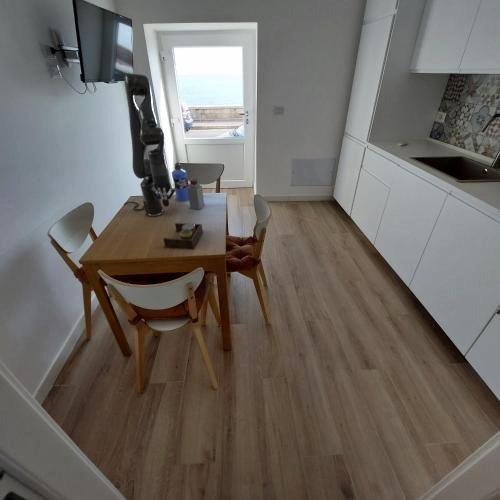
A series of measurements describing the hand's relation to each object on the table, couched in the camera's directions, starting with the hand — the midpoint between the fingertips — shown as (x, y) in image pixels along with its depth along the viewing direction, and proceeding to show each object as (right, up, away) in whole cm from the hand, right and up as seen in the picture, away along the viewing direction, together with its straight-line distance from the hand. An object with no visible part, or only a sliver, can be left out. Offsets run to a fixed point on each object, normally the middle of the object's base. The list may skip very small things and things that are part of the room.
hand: (166, 205), depth 140 cm
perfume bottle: (+8, +6, +40) cm, 41 cm away
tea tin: (+10, -19, +2) cm, 22 cm away
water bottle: (-4, +13, +51) cm, 53 cm away
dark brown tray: (+8, -17, +6) cm, 20 cm away
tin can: (+10, -15, +9) cm, 20 cm away
